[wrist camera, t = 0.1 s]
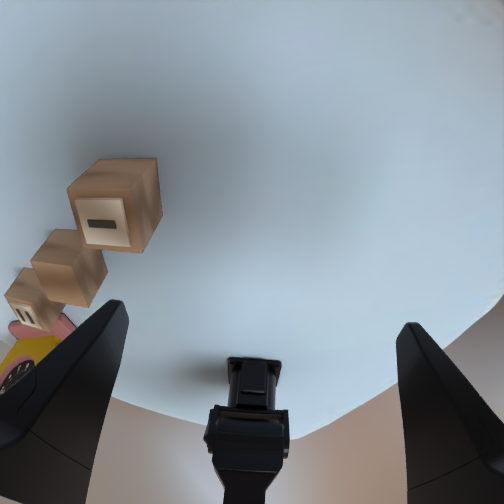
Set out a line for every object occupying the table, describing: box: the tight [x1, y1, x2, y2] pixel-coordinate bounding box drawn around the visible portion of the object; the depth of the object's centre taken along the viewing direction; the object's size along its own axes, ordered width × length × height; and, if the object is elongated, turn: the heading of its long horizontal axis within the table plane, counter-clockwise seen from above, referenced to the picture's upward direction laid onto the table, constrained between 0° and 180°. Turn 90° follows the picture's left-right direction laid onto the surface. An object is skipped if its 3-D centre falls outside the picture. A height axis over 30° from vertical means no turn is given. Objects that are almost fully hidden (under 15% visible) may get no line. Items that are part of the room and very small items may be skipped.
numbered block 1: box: [4, 267, 66, 332], centre depth 29 cm, size 5×5×5 cm
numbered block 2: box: [67, 158, 163, 253], centre depth 21 cm, size 5×5×5 cm
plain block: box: [30, 229, 108, 308], centre depth 25 cm, size 5×5×5 cm
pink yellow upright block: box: [0, 314, 76, 395], centre depth 30 cm, size 22×9×22 cm, turn 110°
